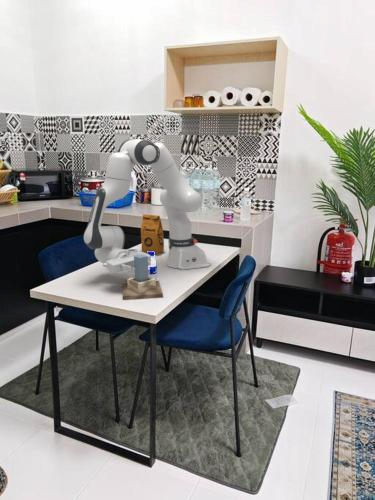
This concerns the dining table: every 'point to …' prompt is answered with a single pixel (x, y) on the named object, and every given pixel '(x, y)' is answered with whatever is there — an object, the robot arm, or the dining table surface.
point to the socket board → (141, 295)
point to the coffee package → (152, 234)
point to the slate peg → (141, 268)
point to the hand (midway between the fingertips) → (140, 266)
